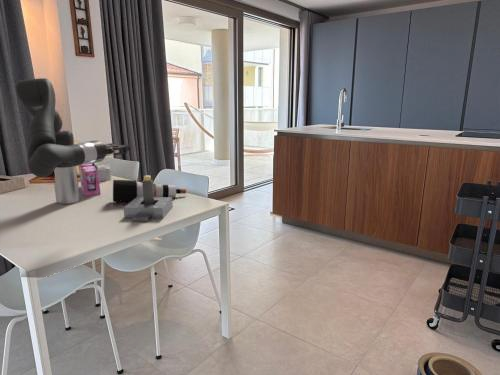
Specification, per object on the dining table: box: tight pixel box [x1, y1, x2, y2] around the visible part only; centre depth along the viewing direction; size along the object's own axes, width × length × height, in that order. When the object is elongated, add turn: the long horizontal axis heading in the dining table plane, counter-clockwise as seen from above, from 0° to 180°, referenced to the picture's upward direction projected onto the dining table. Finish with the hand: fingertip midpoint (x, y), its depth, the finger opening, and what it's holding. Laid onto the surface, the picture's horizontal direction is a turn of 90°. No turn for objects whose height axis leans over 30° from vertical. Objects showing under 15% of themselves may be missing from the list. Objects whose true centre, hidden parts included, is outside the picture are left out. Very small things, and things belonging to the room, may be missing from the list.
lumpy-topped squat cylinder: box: [95, 163, 112, 182], centre depth 212 cm, size 10×13×9 cm
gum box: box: [78, 163, 101, 197], centre depth 185 cm, size 24×8×14 cm, turn 29°
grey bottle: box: [141, 175, 154, 205], centre depth 150 cm, size 4×4×16 cm
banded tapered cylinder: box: [112, 179, 187, 203], centre depth 170 cm, size 10×34×10 cm, turn 109°
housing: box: [123, 197, 174, 223], centre depth 151 cm, size 16×24×4 cm, turn 178°
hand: (120, 146), depth 135 cm, fingers open, 8 cm apart
